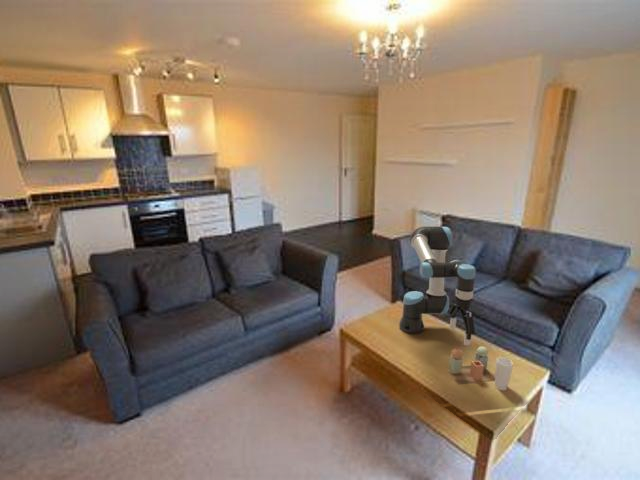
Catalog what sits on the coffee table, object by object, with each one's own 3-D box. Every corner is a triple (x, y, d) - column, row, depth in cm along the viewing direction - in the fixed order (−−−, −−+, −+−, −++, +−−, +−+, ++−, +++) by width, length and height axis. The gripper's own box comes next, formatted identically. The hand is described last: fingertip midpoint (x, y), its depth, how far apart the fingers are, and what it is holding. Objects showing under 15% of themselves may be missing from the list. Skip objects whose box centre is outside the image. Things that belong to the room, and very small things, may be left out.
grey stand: (474, 366, 173) (476, 352, 171) (481, 365, 174) (483, 352, 171) (478, 371, 169) (480, 357, 167) (486, 370, 170) (488, 357, 168)
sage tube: (449, 368, 172) (450, 355, 169) (456, 368, 172) (458, 354, 170) (453, 373, 168) (454, 360, 166) (460, 373, 168) (462, 359, 166)
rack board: (445, 369, 173) (445, 367, 172) (482, 366, 175) (482, 364, 175) (457, 386, 161) (458, 384, 161) (496, 382, 163) (497, 380, 163)
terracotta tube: (469, 375, 167) (471, 361, 164) (477, 374, 167) (479, 360, 165) (474, 380, 163) (476, 366, 161) (481, 379, 163) (483, 365, 161)
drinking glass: (489, 383, 162) (493, 357, 158) (503, 382, 163) (507, 356, 159) (497, 394, 156) (502, 366, 152) (511, 392, 156) (516, 365, 152)
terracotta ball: (449, 355, 170) (450, 346, 169) (458, 354, 171) (459, 346, 169) (454, 361, 165) (455, 352, 164) (463, 360, 166) (465, 352, 164)
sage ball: (474, 353, 171) (475, 344, 170) (483, 352, 172) (484, 343, 171) (480, 359, 167) (481, 350, 165) (489, 358, 167) (490, 349, 166)
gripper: (443, 286, 170) (440, 324, 176) (470, 309, 146) (465, 352, 152) (457, 285, 171) (453, 323, 177) (486, 308, 147) (481, 350, 153)
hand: (459, 336), depth 164 cm, fingers open, 13 cm apart
